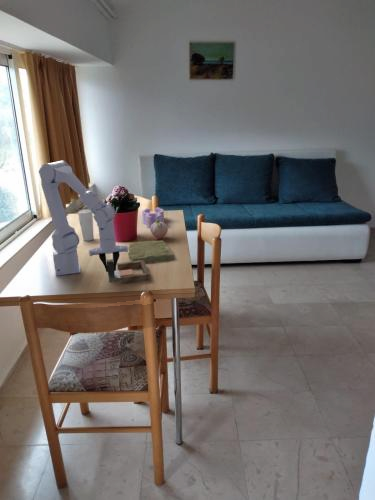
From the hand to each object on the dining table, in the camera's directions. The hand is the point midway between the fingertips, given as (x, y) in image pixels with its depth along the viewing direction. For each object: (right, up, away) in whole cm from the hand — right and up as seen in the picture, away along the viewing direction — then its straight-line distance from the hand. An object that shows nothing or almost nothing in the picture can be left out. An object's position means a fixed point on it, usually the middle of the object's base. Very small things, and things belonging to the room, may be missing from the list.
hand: (110, 270), depth 145 cm
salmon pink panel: (+6, -2, +3) cm, 7 cm away
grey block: (+1, -3, +1) cm, 3 cm away
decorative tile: (+12, +5, +24) cm, 27 cm away
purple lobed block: (+10, +23, +69) cm, 74 cm away
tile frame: (+8, -2, +3) cm, 9 cm away
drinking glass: (-21, +13, +45) cm, 51 cm away
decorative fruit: (+16, +13, +43) cm, 48 cm away
